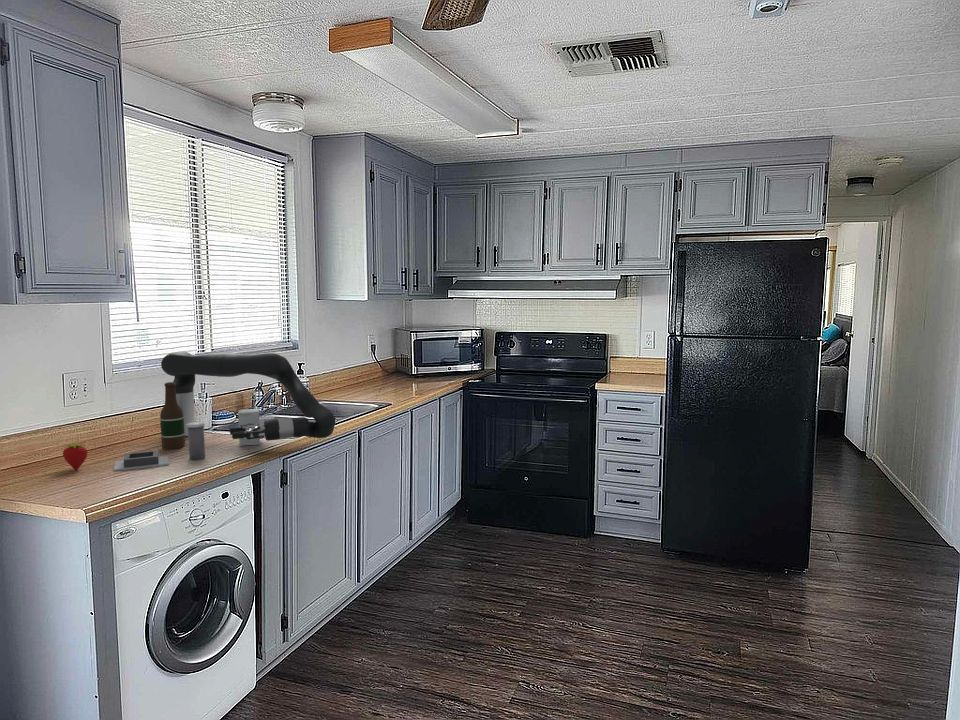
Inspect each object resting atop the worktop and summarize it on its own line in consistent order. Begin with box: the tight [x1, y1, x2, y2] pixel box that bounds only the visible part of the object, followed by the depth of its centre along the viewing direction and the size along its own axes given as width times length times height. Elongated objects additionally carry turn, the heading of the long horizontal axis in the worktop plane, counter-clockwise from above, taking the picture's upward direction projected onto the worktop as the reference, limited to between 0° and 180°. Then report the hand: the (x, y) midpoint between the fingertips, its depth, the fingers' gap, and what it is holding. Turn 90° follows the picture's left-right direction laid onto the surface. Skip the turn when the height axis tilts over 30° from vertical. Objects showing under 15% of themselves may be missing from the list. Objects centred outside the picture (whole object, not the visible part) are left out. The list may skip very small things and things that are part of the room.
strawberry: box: [62, 438, 88, 470], centre depth 218 cm, size 6×8×10 cm
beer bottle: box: [159, 381, 186, 451], centre depth 248 cm, size 8×8×24 cm
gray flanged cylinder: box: [186, 421, 206, 461], centre depth 231 cm, size 6×6×12 cm
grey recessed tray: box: [112, 450, 170, 472], centre depth 224 cm, size 12×16×3 cm
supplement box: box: [237, 408, 261, 447], centre depth 253 cm, size 7×7×13 cm
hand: (231, 433), depth 236 cm, fingers open, 8 cm apart
